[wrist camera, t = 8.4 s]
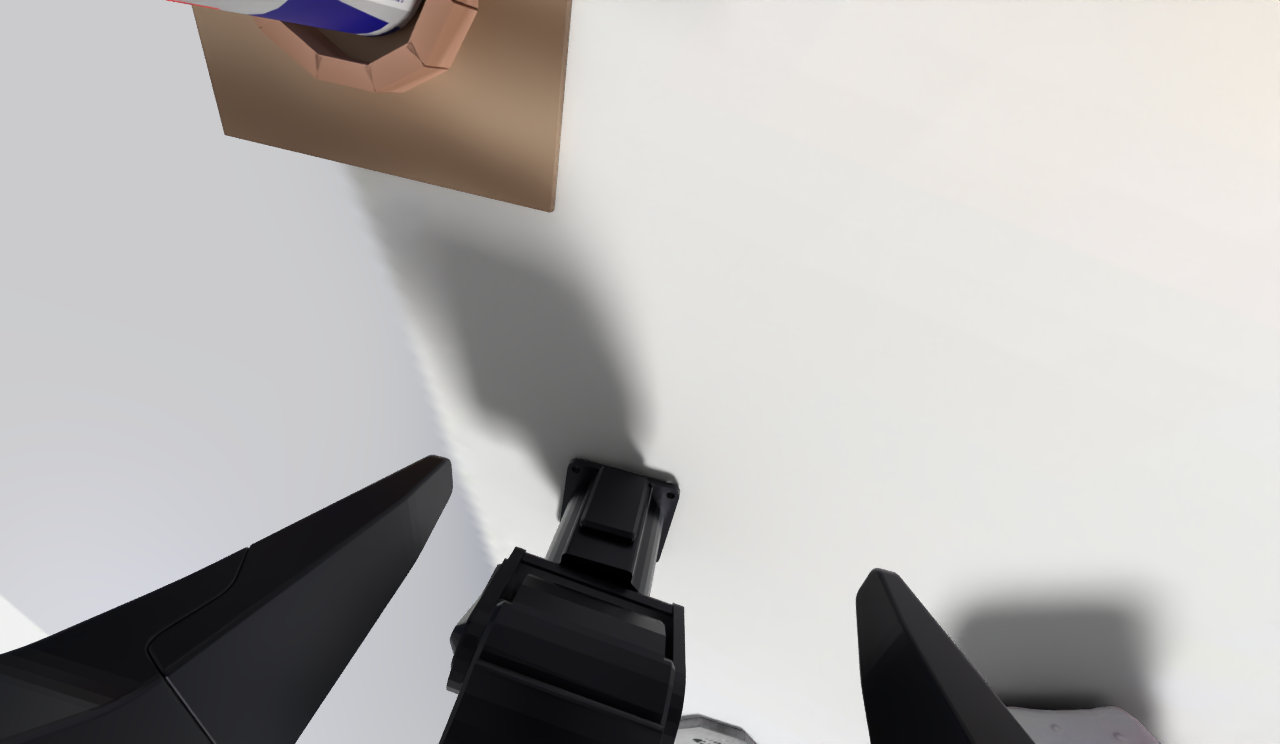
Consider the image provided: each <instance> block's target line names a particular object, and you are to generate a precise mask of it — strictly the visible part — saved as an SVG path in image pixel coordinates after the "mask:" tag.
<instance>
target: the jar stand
mask: <svg viewBox="0 0 1280 744" xmlns="http://www.w3.org/2000/svg"><path fill="white" fill-rule="evenodd" d="M571 6H572V0H422V1H421V3H420V5H419V7H418V9H417V11H416V13H415V15H414V16H413V17H412V18H411V20H410V21H409V22H408V23H407V24H406V25H405V26H404V27H402V28H401V29H400V30H398V31H397V32H395V33H392V34H389V35H386V36H379V37H369V36H363V35H357V34H352V33H346V32H341V31H335V30H330V29H324V28H318V27H313V26H307V25H302V24H296V23H290V22H285V21H279V20H274V19H268V18H262V17H257V16H251V15H246V14H240V13H234V12H229V11H223V10H218V9H212V8H207V7H201V6H195V5H192V8H193V12H194V16H195V20H196V24H197V28H198V31H199V36H200V39H201V43H202V48H203V51H204V55H205V59H206V63H207V67H208V71H209V75H210V79H211V83H212V87H213V91H214V95H215V98H216V102H217V106H218V110H219V114H220V117H221V122H222V126H223V130H224V134H225V135H227V136H232V137H236V138H240V139H244V140H249V141H252V142H257V143H261V144H265V145H269V146H273V147H278V148H282V149H286V150H290V151H295V152H299V153H303V154H307V155H311V156H315V157H320V158H324V159H328V160H332V161H336V162H340V163H345V164H349V165H353V166H357V167H361V168H366V169H370V170H374V171H378V172H382V173H387V174H391V175H395V176H399V177H403V178H407V179H412V180H416V181H420V182H424V183H428V184H433V185H437V186H441V187H445V188H449V189H454V190H458V191H462V192H466V193H470V194H475V195H479V196H483V197H487V198H491V199H495V200H500V201H504V202H508V203H512V204H516V205H521V206H525V207H529V208H533V209H537V210H542V211H546V212H552V211H554V207H555V195H556V183H557V172H558V160H559V148H560V136H561V124H562V112H563V101H564V89H565V77H566V65H567V53H568V41H569V30H570V18H571Z"/></svg>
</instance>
